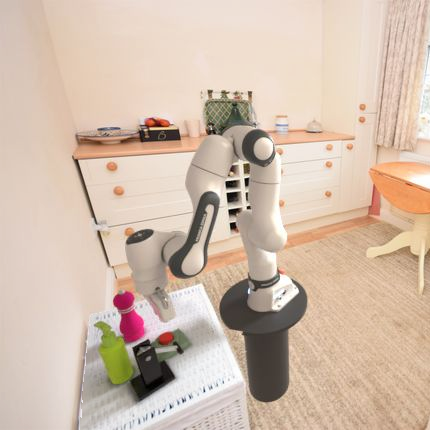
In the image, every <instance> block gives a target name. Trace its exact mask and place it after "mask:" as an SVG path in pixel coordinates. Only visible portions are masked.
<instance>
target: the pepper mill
mask: <svg viewBox="0 0 430 430" xmlns="http://www.w3.org/2000/svg"><path fill="white" fill-rule="evenodd" d="M112 304H113V306H114V307H115V308H116V310H117V313H118V314H119V315H120V322H119V325H118V326H119V327H118V328H119V332H120V334H122V336H123V340H124V342H127V343H134V342H136V341H138V340H140V339H141V338H143V336H144V335H145V334H146V329H145V327H144V326H145V321H144V319H143V317H142V316H141V315H139V314H138V313H137V311H136V309H135V308H136V304H135V295H134V293H132V292H131V291H128V290H125V289H122V288H120V289H119V290H118V291H117V293H116V294H115V295H114V297H113V299H112Z"/></svg>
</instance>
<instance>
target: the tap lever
mask: <svg viewBox="0 0 430 430" xmlns="http://www.w3.org/2000/svg"><path fill="white" fill-rule="evenodd" d="M150 348H151V347H150V346H145V347H140V348H139V350H138V353H137V355H139V354H141V353H143V352H145V351H147V350H148V349H150ZM176 350H177V351H178V352H177V353H178V354H179V355H183V354H184V352H185V350H184V349H182V348H181V346H180V345H179V344H178V342H177V341H175V342H173V346H169V347H162V348H155V351H156V353H162V352H169V351H176Z"/></svg>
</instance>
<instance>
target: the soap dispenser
mask: <svg viewBox="0 0 430 430" xmlns="http://www.w3.org/2000/svg"><path fill="white" fill-rule="evenodd" d="M93 327H94V328H96V329H99V330H100V331H101V332H102V335H101V336H100V341H101V344H100V345H99V346H98V352H99V354H100V356H101V360H102V362H103V365H104V368H105V370H106V373H107V375H108V378H109V381H110V383H111V384H113V385H121V384H124V383H126V382H127V381H129V380H131V379H132V376H133V374H134V368H133V364H132V362H131V359H130V355H129V352H128V349H127V347H126V344H125V340H124V337H121V336H117V335H116V332H115V331H113V330H112V329H113V327H112V326H111V325H110V324H108V323H107V322H105V321H102V320H99V321H98V322H96V323H94V324H93Z"/></svg>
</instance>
